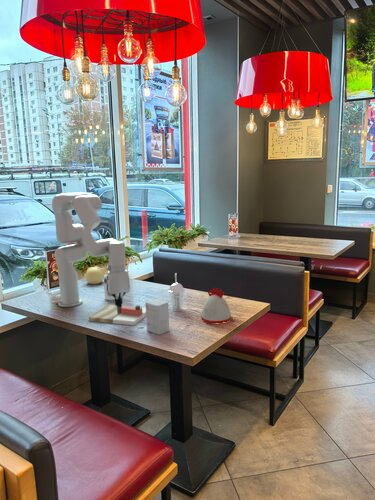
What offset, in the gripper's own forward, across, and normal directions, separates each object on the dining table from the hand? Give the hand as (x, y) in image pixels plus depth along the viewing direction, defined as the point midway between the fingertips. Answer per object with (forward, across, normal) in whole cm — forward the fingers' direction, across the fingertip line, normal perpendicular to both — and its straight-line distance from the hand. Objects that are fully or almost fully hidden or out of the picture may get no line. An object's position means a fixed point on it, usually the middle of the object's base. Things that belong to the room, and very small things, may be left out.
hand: (118, 306), depth 181 cm
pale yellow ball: (+10, +14, +72) cm, 74 cm away
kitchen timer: (+6, +38, -26) cm, 46 cm away
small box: (+6, +9, -22) cm, 25 cm away
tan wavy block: (+8, -1, +9) cm, 12 cm away
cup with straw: (+7, +29, -4) cm, 30 cm away
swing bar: (+5, +6, -1) cm, 8 cm away
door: (+7, +7, 0) cm, 10 cm away
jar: (+9, +11, +35) cm, 37 cm away
